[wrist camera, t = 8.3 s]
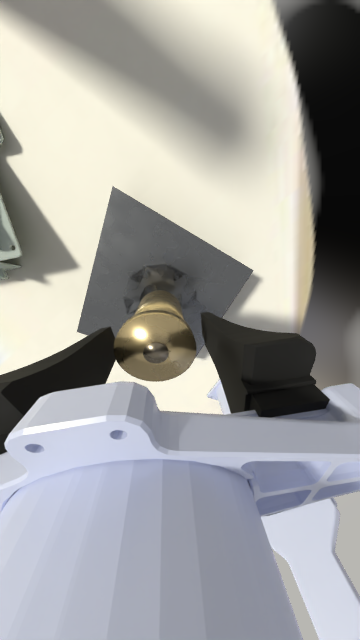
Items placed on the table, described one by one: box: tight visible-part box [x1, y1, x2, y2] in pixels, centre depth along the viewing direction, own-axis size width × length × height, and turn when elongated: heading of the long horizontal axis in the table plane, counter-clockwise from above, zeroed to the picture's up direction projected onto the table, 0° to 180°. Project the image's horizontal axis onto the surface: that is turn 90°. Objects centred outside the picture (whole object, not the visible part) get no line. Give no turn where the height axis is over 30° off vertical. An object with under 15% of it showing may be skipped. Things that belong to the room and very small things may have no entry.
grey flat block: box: [77, 187, 253, 357], centre depth 20 cm, size 16×16×4 cm
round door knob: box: [114, 290, 196, 381], centre depth 12 cm, size 5×5×7 cm
